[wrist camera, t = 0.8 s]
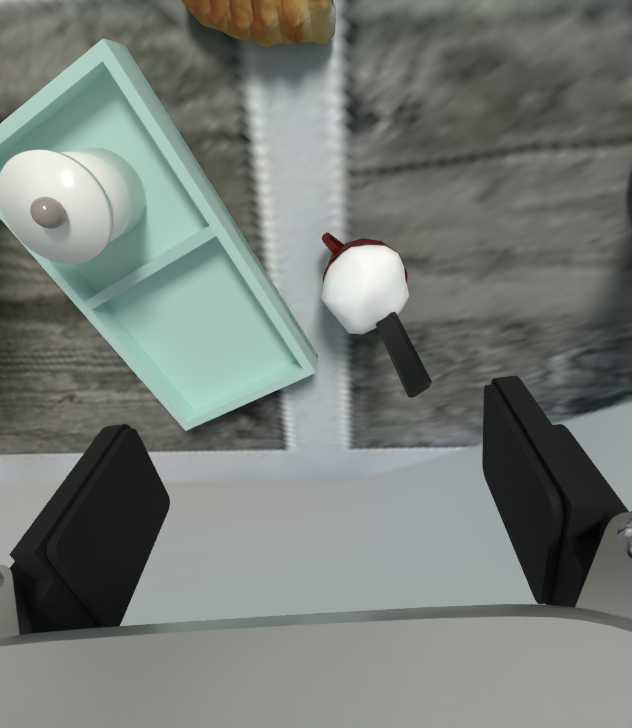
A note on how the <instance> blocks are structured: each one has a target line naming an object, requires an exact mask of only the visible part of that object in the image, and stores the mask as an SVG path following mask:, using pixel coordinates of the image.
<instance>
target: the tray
mask: <svg viewBox="0 0 632 728" xmlns="http://www.w3.org/2000/svg"><path fill="white" fill-rule="evenodd" d="M87 148H102V149H106V150H109V151H112V152H114V153H116V154H118V155H119V156H121V157H122V158H124V159H125V160H126V161H127V162H128V163H129V164H130V165H131V166H132V167H133V168H134V170H135V171H136V172H137V174H138V176H139V177H140V179H141V181H142V184H143V186H144V189H145V194H146V210H145V214H144V216H143V219H142V220H141V222H140V223H139V225H138V226H137V227H136V228H134V229H133V230H131V231H130V232H128V233H126V234H124V235H122V236H121V237H119V238H117V239H115V240H114V241H112V242H110V243H108V245H107V247H106V248H105V249H104V250H103V251H102V252H101V253H100V254H99V255H97V256H96V257H94V258H92V259H90V260H89V261H86V262H83V263H79V264H62V263H57V262H54V261H51V260H48V259H46V258H44V257H42V256H40V255H38V254H36V253H35V252H33V251H32V250H31V249H29V248H28V247H27V246H26V245H25V244H24V243H22V242H21V240H20V239H19V238H18V237H17V236H16V235H15V234H14V232H13V231H12V230H11V228H10V227H9V225H8V223H7V222H6V220H5V218H4V216H3V213H2V211H1V208H0V219H1V220H2V221H3V222H4V223H5V225H6V226H7V227H8V228H9V229H10V230H11V231H12V233H13V234H14V235H15V236H16V237H17V238H18V239H19V241H20V242H21V243H22V244H23V245H24V246H25V248H26V249H27V250H28V251H29V252H30V253H31V254H32V256H33V257H34V258H35V259H36V260H37V261H38V262H39V264H40V265H41V266H42V267H43V268H44V269H45V270H46V272H47V273H48V274H49V275H50V276H51V277H52V278H53V280H54V281H55V282H56V283H57V284H58V285H59V286H60V288H61V289H62V290H63V291H64V292H65V293H66V294H67V296H68V297H69V298H70V299H71V300H72V301H73V302H74V304H75V305H76V306H77V307H78V308H79V309H80V311H81V312H82V313H83V314H84V315H85V316H86V317H87V319H88V320H89V321H90V322H91V323H92V324H93V325H94V327H95V328H96V329H97V330H98V331H99V332H100V333H101V335H102V336H103V337H104V338H105V339H106V340H107V341H108V343H109V344H110V345H111V346H112V347H113V348H114V349H115V351H116V352H117V353H118V354H119V355H120V356H121V357H122V359H123V360H124V361H125V362H126V363H127V364H128V365H129V367H130V368H131V369H132V370H133V371H134V372H135V373H136V375H137V376H138V377H139V378H140V379H141V380H142V382H143V383H144V384H145V385H146V386H147V387H148V388H149V390H150V391H151V392H152V393H153V394H154V395H155V396H156V398H157V399H158V400H159V401H160V402H161V403H162V404H163V406H164V407H165V408H166V409H167V410H168V411H169V412H170V414H171V415H172V416H173V417H174V418H175V419H176V420H177V422H178V423H179V424H180V425H181V426H182V427H183V428H184V430H185V431H186V430H189V429H191V428H193V427H195V426H198V425H200V424H202V423H204V422H207V421H209V420H211V419H213V418H216V417H218V416H220V415H222V414H225V413H227V412H229V411H231V410H234V409H236V408H238V407H240V406H243V405H245V404H247V403H249V402H252V401H254V400H256V399H258V398H261V397H263V396H265V395H267V394H270V393H272V392H274V391H276V390H279V389H281V388H283V387H285V386H288V385H290V384H292V383H294V382H297V381H299V380H301V379H303V378H306V377H308V376H310V375H312V374H314V373H316V368H317V357H318V355H317V354H316V352H315V350H314V349H313V347H312V346H311V344H310V342H309V341H308V339H307V338H306V336H305V334H304V333H303V331H302V329H301V328H300V326H299V325H298V323H297V321H296V320H295V318H294V317H293V315H292V313H291V312H290V310H289V309H288V307H287V305H286V304H285V302H284V300H283V299H282V297H281V296H280V294H279V292H278V291H277V289H276V288H275V286H274V284H273V283H272V281H271V280H270V278H269V276H268V275H267V273H266V271H265V270H264V268H263V267H262V265H261V263H260V262H259V260H258V259H257V257H256V255H255V254H254V252H253V251H252V249H251V247H250V246H249V244H248V242H247V241H246V239H245V238H244V236H243V234H242V233H241V231H240V230H239V228H238V226H237V225H236V223H235V222H234V220H233V218H232V217H231V215H230V213H229V212H228V210H227V209H226V207H225V205H224V204H223V202H222V201H221V199H220V197H219V196H218V194H217V193H216V191H215V189H214V188H213V186H212V184H211V183H210V181H209V180H208V178H207V176H206V175H205V173H204V172H203V170H202V168H201V167H200V165H199V164H198V162H197V160H196V159H195V157H194V155H193V154H192V152H191V151H190V149H189V147H188V146H187V144H186V143H185V141H184V139H183V138H182V136H181V135H180V133H179V131H178V130H177V128H176V126H175V125H174V123H173V122H172V120H171V118H170V117H169V115H168V114H167V112H166V110H165V109H164V107H163V106H162V104H161V102H160V101H159V99H158V97H157V96H156V94H155V93H154V91H153V89H152V88H151V86H150V85H149V83H148V81H147V80H146V78H145V77H144V75H143V73H142V72H141V70H140V68H139V67H138V65H137V64H136V62H135V60H134V59H133V57H132V56H131V54H130V52H129V51H128V49H127V48H126V46H125V45H122V44H119V43H116V42H113V41H110V40H106V39H102V40H101V41H100V42H98V43H97V44H96V45H95V46H94V47H92V48H91V49H90V50H89V51H87V52H86V53H85V54H84V55H83V56H81V57H80V58H79V59H78V60H77V61H75V62H74V63H73V64H72V65H71V66H69V67H68V68H67V69H66V70H65V71H63V72H62V73H61V74H60V75H59V76H57V77H56V78H55V79H54V80H52V81H51V82H50V83H49V84H48V85H46V86H45V87H44V88H43V89H42V90H40V91H39V92H38V93H37V94H36V95H34V96H33V97H32V98H31V99H30V100H28V101H27V102H26V103H25V104H24V105H22V106H21V107H20V108H19V109H18V110H16V111H15V112H14V113H13V114H11V115H10V116H9V117H8V118H7V119H5V120H4V121H3V122H2V123H1V124H0V173H1V171H2V169H3V167H4V166H5V164H6V163H7V162H8V161H9V160H10V159H11V158H12V157H14V156H15V155H17V154H19V153H22V152H25V151H30V150H41V149H45V150H53V151H57V152H66V151H73V150H80V149H87Z"/></svg>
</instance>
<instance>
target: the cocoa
mask: <svg viewBox="0 0 632 728" xmlns="http://www.w3.org/2000/svg"><path fill="white" fill-rule="evenodd" d="M322 240H323V242H324V243H325V245H326V246H327V247H328V248H329V249H330V251H331V252H332V253H333V255H332V256H331V258H330V260H329V263H328V265H327V268H326V270H325V272H324V276H323V289H322V295H321V299H322V300H323V302H324V303H325V305H326V306H327V307H328V309H329V310H330V311H331V312H332V313H333V314H334V315H335V316H336V318H337V319H338V320H339V321H340V323H341V324H342V325H343V326H344V328H345V329H346V330H347V331H348V333H352V334H364V333H366V332H368V331H370V330H372V329H375V328H377V329H378V331H379V333H380V336H381V338H382V340H383V342H384V344H385V347H386V349H387V351H388V353H389V355H390V358H391V360H392V362H393V364H394V366H395V369H396V371H397V373H398V375H399V377H400V380H401V382H402V384H403V386H404V388H405V391H406V393H407V395H408V397H412V398H413V397H415V396H417V395H418V394H420V393H421V392H423V391H424V390H426V389H428V388H429V387H430V385H431V383H432V381H431V379H430V377H429V375H428V373H427V372H426V370H425V368H424V366H423V364H422V362H421V360H420V358H419V356H418V354H417V352H416V350H415V349H414V347H413V345H412V343H411V341H410V339H409V337H408V335H407V333H406V331H405V329H404V327H403V326H402V324H401V322H400V320H399V318H398V316H397V315H398V314H399V313H400V311H401V310H402V309H403V308H404V306H405V304H406V301H407V299H408V297H409V293H408V288H407V271H406V269H405V267H404V265H403V263H402V261H401V259H400V257H399V255H398V253H397V252H395V251H394V250H393V249H391V248H390V247H388V246H387V245H386V244H384V243H383V242H381V241H376V240H370V239H364V238H362V239H359V240H356V241H352V242H349V243H346V244H345V245H344V244H343V243H341V242H340V241H339V240H337V239H336V238H335V237H334V236H332V235H331V234H329V233H325V234H324V235H323V236H322Z"/></svg>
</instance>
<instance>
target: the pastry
mask: <svg viewBox="0 0 632 728" xmlns="http://www.w3.org/2000/svg"><path fill="white" fill-rule="evenodd" d="M182 2H183V3H184V4H185V6H186V7H187V8H188V9H189V10H190V12H191V13H192V14H193V15H194V16H195V17H196V19H197V20H198V21H199V22H200V23H201V24H202V25H204V26H206V27H210V28H213V29H217V30H220V31H222V32H224V33H226V34H227V35H229V36H230V37H233V38H237V39H241V40H249V41H252V42H256V43H257V44H259V45H260V46H262V47H266V48H269V47H273V46H275V45H277V44H279V43H280V44H292V43H312V42H315V43H319V44H322V45H323V44H326V43H328V42H329V41H330V40H331V39H332V37H333V35H334V33H335V22H336V18H335V14H336V11H335V10H336V0H182Z"/></svg>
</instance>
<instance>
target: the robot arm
mask: <svg viewBox="0 0 632 728" xmlns="http://www.w3.org/2000/svg"><path fill="white" fill-rule="evenodd" d="M483 472H484V476H485V479H486V482H487V484H488V487H489V489H490V491H491V494H492V496H493V499H494V501H495V503H496V506H497V508H498V511H499V513H500V516H501V518H502V520H503V523H504V525H505V528H506V530H507V533H508V535H509V538H510V540H511V543H512V545H513V547H514V550H515V552H516V555H517V557H518V560H519V562H520V564H521V567H522V569H523V572H524V574H525V576H526V579H527V581H528V584H529V586H530V589H531V591H532V594H533V596H534V598H535V600H536V602H537V603H538V604H546V605H525V604H520V605H519V604H513V605H512V604H502V605H501V604H500V605H475V606H449V607H426V608H425V607H424V608H407V609H390V610H372V611H354V612H336V613H319V614H303V615H287V616H270V617H254V618H238V619H222V620H206V621H193V622H192V621H190V622H176V623H161V624H147V625H133V626H120V624H121V622H122V619H123V617H124V615H125V612H126V610H127V607H128V605H129V603H130V600H131V598H132V596H133V593H134V591H135V588H136V586H137V584H138V581H139V579H140V576H141V574H142V572H143V570H144V567H145V564H146V562H147V560H148V557H149V555H150V553H151V550H152V548H153V546H154V543H155V541H156V539H157V536H158V534H159V531H160V529H161V527H162V524H163V522H164V519H165V517H166V515H167V512H168V510H169V505H170V499H169V496H168V494H167V491H166V489H165V487H164V485H163V483H162V481H161V479H160V477H159V475H158V473H157V471H156V469H155V467H154V465H153V463H152V461H151V459H150V457H149V455H148V453H147V451H146V449H145V447H144V445H143V442H142V440H141V438H140V436H139V434H138V432H137V431H136V430H135V429H131V427H130V426H129V425H127V424H122V425H114V426H107V427H104V428H103V429H102V430H101V431H100V433H99V434H98V435H97V437H96V438H95V439H94V441H93V442H92V444H91V445H90V446H89V448H88V449H87V450H86V452H85V453H84V454H83V456H82V457H81V458H80V460H79V461H78V463H77V464H76V465H75V467H74V468H73V469H72V471H71V472H70V473H69V475H68V476H67V477H66V479H65V480H64V481H63V483H62V484H61V486H60V487H59V488H58V490H57V491H56V493H55V494H54V495H53V496H52V498H51V500H50V501H49V502H48V503H47V505H46V506H45V507H44V509H43V510H42V511H41V513H40V514H39V516H38V517H37V518H36V519H35V521H34V522H33V523H32V525H31V526H30V528H29V529H28V530H27V532H26V533H25V534H24V536H23V537H22V539H21V540H20V541H19V542H18V544H17V545H16V547H15V548H14V549H13V551H12V552H11V553H10V556H11V557H12V558H13V559H14V561H15V562H14V563H13V565H12V566H11V567H10V568H8V567H7V566H4V565H0V728H632V511H631V512H629V511H628V510H627V508H626V507H625V506H624V505H623V503H622V502H621V500H620V499H619V498H618V496H617V495H616V493H615V492H614V491H613V490H612V488H611V487H610V485H609V484H608V483H607V481H606V480H605V479H604V477H603V476H602V474H601V473H600V472H599V470H598V469H597V468H596V466H595V465H594V464H593V462H592V461H591V460H590V458H589V457H588V455H587V454H586V453H585V451H584V450H583V449H582V447H581V446H580V445H579V443H578V442H577V441H576V439H575V438H574V436H573V435H572V434H571V432H570V431H569V430H568V429H567V428H566V427H565V426H564V425H562V424H558V425H552V424H551V422H550V421H549V420H548V418H547V417H546V415H545V414H544V412H543V411H542V410H541V408H540V407H539V405H538V404H537V402H536V401H535V399H534V398H533V397H532V395H531V394H530V392H529V391H528V389H527V388H526V387H525V385H524V384H523V382H522V381H521V379H520V378H519V377H518V376H509V377H501V378H494V379H492V382H491V385H485V387H484V416H483Z"/></svg>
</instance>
